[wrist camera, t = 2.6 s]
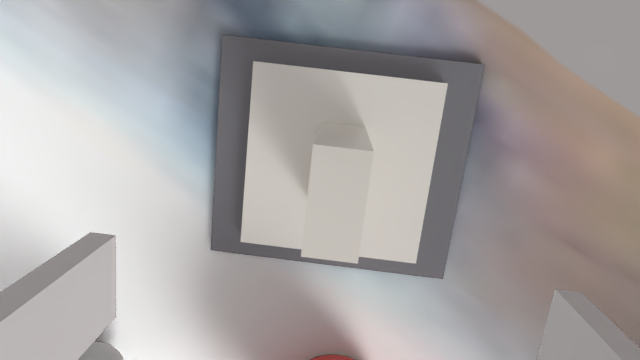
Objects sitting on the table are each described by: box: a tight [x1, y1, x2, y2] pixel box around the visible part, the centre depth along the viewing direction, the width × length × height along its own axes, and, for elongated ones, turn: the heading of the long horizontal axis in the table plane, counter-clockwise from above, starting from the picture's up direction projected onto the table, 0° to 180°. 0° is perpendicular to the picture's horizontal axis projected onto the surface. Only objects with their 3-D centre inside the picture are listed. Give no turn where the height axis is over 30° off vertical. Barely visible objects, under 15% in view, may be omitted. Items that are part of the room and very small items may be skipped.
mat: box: [211, 35, 485, 279], centre depth 33 cm, size 18×16×1 cm
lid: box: [241, 61, 448, 264], centre depth 28 cm, size 13×13×10 cm
